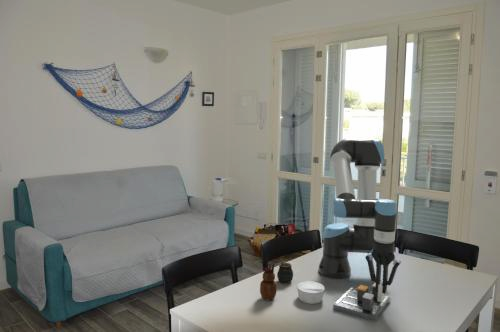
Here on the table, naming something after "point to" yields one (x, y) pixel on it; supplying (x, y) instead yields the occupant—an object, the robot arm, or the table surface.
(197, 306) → the table surface
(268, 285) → the wooden figurine
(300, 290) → the ramekin
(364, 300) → the breaker near
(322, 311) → the table surface
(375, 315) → the panel
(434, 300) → the table surface
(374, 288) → the block
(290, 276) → the mate gourd
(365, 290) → the block
